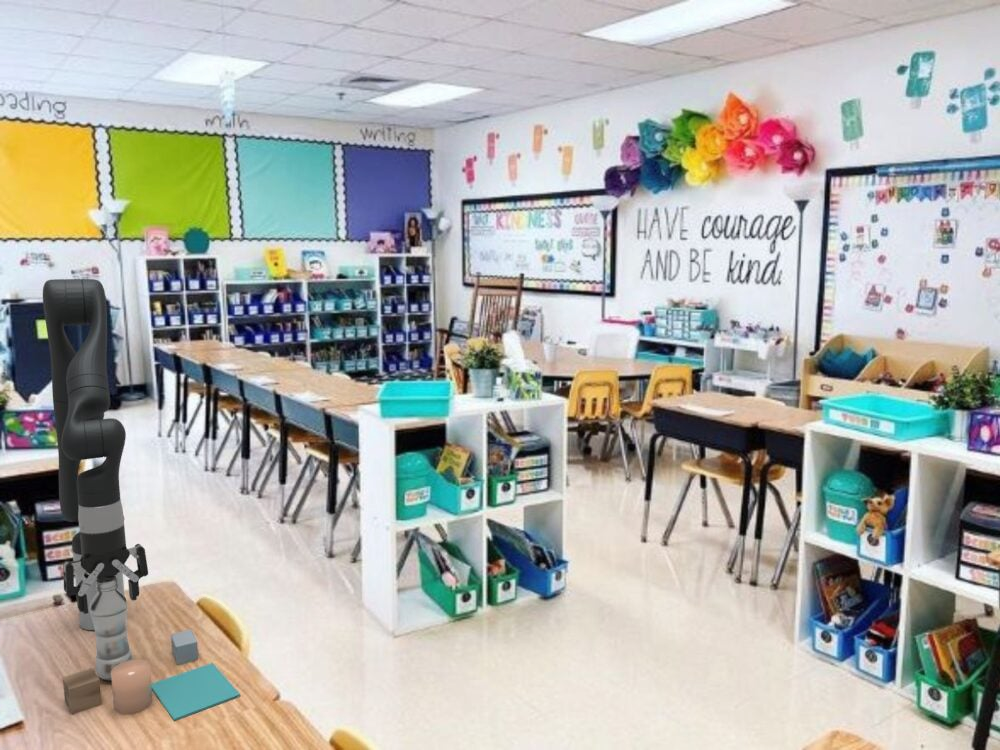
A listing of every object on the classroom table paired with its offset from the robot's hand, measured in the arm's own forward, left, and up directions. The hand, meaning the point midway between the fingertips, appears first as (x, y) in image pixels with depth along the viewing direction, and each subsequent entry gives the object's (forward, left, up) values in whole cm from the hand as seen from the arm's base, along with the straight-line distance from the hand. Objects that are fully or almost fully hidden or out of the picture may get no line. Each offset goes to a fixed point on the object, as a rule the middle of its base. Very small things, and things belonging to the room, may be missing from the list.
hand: (109, 605), depth 153 cm
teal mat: (+15, +10, -15) cm, 23 cm away
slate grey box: (+1, +13, -15) cm, 20 cm away
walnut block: (+6, -7, -15) cm, 17 cm away
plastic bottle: (0, 0, -15) cm, 15 cm away
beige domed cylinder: (+12, 0, -15) cm, 19 cm away
